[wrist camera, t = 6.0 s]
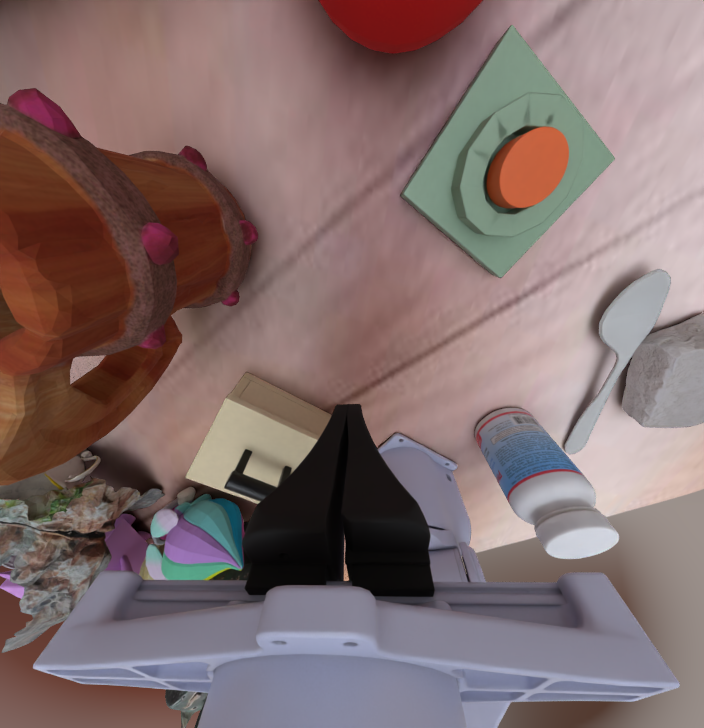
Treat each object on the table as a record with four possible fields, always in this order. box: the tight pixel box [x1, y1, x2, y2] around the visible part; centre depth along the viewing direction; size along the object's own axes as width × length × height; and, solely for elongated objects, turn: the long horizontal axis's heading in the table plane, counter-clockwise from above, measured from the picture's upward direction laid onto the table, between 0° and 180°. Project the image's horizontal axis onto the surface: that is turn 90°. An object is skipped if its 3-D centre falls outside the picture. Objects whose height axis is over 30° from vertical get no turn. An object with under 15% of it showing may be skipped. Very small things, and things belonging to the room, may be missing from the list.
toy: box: [146, 487, 245, 580], centre depth 32 cm, size 10×9×15 cm
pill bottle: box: [475, 408, 619, 559], centre depth 22 cm, size 6×6×11 cm
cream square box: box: [231, 372, 332, 436], centre depth 26 cm, size 12×12×4 cm
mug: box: [0, 88, 258, 486], centre depth 13 cm, size 15×8×15 cm, turn 154°
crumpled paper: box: [0, 476, 164, 653], centre depth 28 cm, size 17×22×15 cm
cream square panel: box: [185, 394, 320, 504], centre depth 22 cm, size 12×12×4 cm
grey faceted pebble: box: [622, 313, 704, 428], centre depth 21 cm, size 10×6×6 cm, turn 27°
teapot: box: [0, 514, 151, 599], centre depth 35 cm, size 15×13×11 cm
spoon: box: [564, 269, 671, 454], centre depth 23 cm, size 4×21×2 cm, turn 12°
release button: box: [487, 127, 569, 208], centre depth 13 cm, size 3×3×2 cm
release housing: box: [400, 25, 615, 278], centre depth 15 cm, size 9×8×3 cm
